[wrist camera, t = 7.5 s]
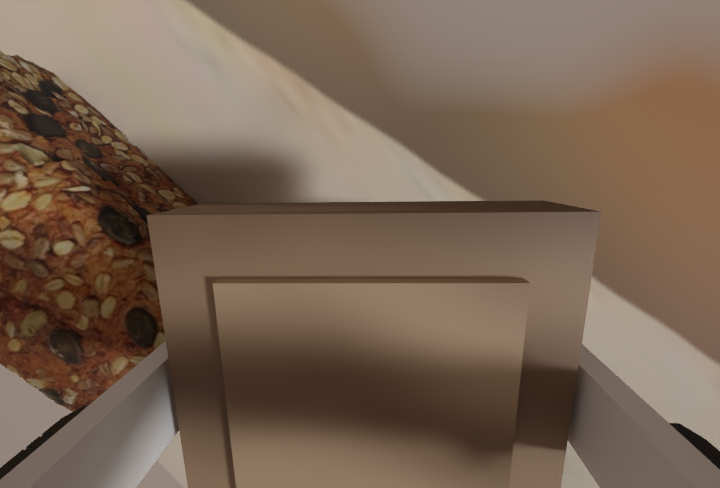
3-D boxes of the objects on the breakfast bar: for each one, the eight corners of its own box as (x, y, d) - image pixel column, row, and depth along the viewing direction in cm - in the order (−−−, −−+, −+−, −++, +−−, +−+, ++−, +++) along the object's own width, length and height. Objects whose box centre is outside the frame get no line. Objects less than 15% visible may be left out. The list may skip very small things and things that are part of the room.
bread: (-25, 173, 23) (-314, 182, 14) (59, 53, 21) (-215, -39, 11) (181, 354, 26) (61, 471, 16) (275, 264, 24) (201, 336, 14)
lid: (512, 484, 14) (555, 580, 11) (233, 479, 15) (192, 570, 11) (543, 200, 12) (611, 214, 8) (200, 203, 12) (136, 217, 9)
